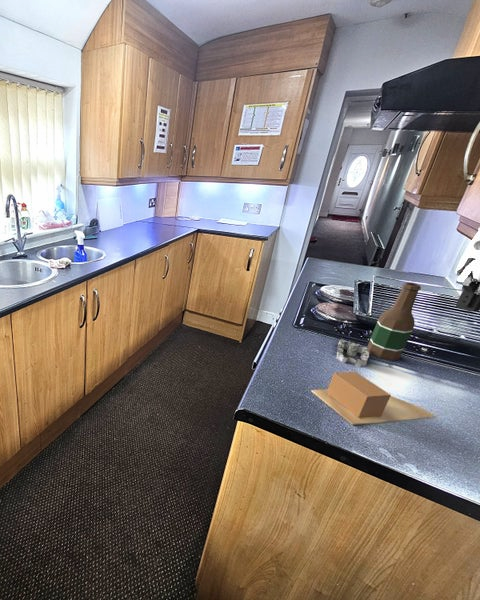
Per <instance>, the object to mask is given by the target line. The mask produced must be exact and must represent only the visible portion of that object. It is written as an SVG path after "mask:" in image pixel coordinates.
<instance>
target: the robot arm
mask: <svg viewBox="0 0 480 600" xmlns="http://www.w3.org/2000/svg"><path fill="white" fill-rule="evenodd" d="M477 230H478V231H476V232H477V233H476V234H475V235H474V237H473V238H472V240H471V241H470V243H469V244H468V245H467V247H466V249H465V251H464V253H463V254H462V256H461V258H460V260H459V262H458V264H457V267H456V269H455V275H456V276H457V277H458V278H457V279H456V281H455V283H456V284H458V285H462V286H461V291H462V292H461V294H460V295H459V298H458V299H457V301H456V303H455V307H456V308H458V309H462V310H463V311H464V310H465V311H468V312H470V313H471V312H472V313H473V312H479V311H480V226H479V227H478V229H477Z"/></svg>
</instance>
